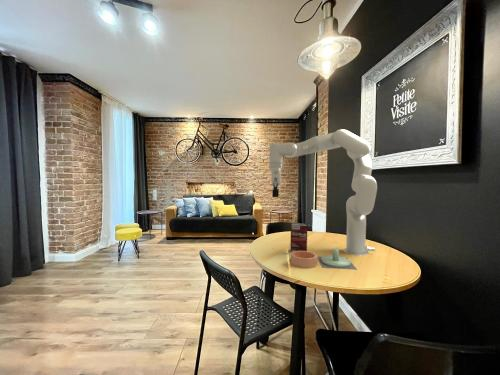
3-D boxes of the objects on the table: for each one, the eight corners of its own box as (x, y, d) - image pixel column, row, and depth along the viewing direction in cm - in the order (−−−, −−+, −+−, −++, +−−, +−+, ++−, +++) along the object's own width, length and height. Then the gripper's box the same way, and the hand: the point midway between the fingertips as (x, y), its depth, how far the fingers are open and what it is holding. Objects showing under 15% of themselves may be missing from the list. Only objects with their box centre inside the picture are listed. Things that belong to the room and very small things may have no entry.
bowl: (314, 261, 114) (315, 251, 113) (319, 270, 102) (319, 259, 101) (290, 260, 115) (290, 250, 115) (291, 269, 103) (291, 258, 103)
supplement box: (290, 254, 123) (291, 225, 123) (290, 251, 128) (290, 223, 128) (307, 255, 122) (307, 225, 122) (306, 252, 127) (306, 223, 127)
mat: (347, 259, 116) (347, 257, 116) (357, 271, 101) (357, 269, 101) (316, 258, 118) (316, 256, 118) (322, 269, 103) (322, 267, 103)
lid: (345, 258, 115) (346, 246, 115) (354, 268, 102) (354, 254, 102) (319, 257, 117) (319, 245, 116) (323, 266, 104) (324, 253, 104)
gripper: (282, 164, 120) (282, 197, 121) (282, 166, 137) (282, 195, 138) (268, 164, 121) (268, 197, 122) (270, 166, 138) (269, 195, 139)
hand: (275, 196), depth 130 cm, fingers open, 9 cm apart
